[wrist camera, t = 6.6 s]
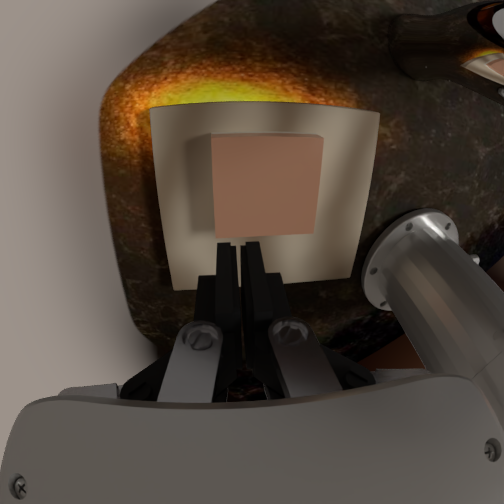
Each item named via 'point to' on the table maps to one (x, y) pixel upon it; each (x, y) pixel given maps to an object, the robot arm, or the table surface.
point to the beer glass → (454, 47)
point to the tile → (265, 182)
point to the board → (201, 186)
